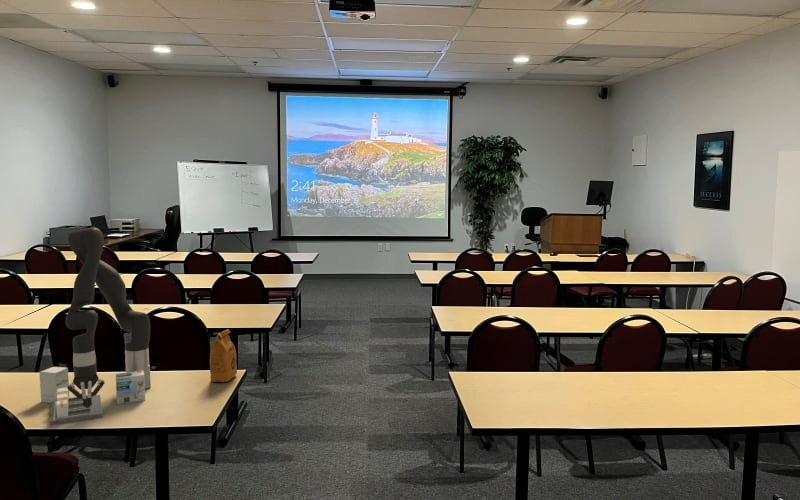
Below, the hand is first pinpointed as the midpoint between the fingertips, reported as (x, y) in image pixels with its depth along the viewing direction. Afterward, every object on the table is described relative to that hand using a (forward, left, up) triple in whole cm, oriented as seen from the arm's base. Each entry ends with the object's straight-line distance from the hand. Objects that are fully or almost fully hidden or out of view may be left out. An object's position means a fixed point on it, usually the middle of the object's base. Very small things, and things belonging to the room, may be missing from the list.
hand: (87, 407), depth 223 cm
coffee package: (-55, -19, -4) cm, 58 cm away
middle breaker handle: (+8, -7, -2) cm, 11 cm away
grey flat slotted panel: (+4, -7, -4) cm, 9 cm away
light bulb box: (-16, -11, -4) cm, 20 cm away
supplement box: (+11, -25, -4) cm, 28 cm away
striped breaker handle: (+8, 0, -2) cm, 8 cm away
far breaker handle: (+8, -15, -2) cm, 17 cm away
